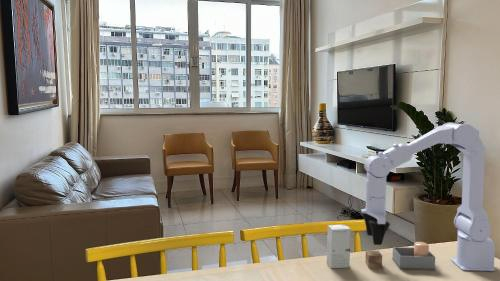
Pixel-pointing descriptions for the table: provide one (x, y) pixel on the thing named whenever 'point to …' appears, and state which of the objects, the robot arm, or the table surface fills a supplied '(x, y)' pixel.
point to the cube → (373, 259)
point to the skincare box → (338, 246)
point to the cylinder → (421, 249)
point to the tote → (412, 259)
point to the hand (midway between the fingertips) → (374, 239)
